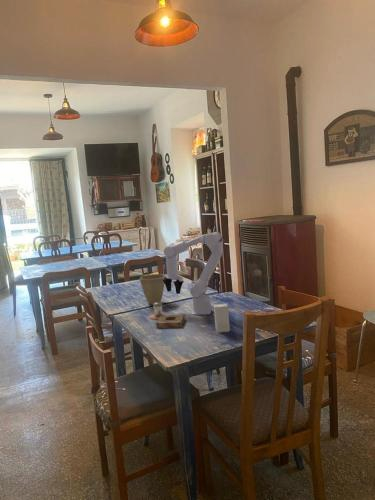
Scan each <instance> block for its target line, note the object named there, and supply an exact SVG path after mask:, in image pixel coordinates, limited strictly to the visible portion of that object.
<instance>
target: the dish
mask: <svg viewBox="0 0 375 500" xmlns="http://www.w3.org/2000/svg"><path fill="white" fill-rule="evenodd" d="M163 315H167V314H166V313H165V312H163ZM159 318H160V317H154V313H152V314H150V315H149V319H150V320H157V321H158V319H159Z"/></svg>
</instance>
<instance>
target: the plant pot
mask: <svg viewBox="0 0 375 500" xmlns="http://www.w3.org/2000/svg"><path fill="white" fill-rule="evenodd" d="M163 275H164V274H161V273H157V274H156V273H154V274H153V273H152V274H145V275H142V276H140V277H139V281H140V285H141V289H142V291H143V294H144V297H145V299H146V301H147V303H148V305H153V303H154V302H162V299H163V294H164V291H165V290H164V289H165V284H164V282H163V279H165V278H163Z"/></svg>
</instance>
